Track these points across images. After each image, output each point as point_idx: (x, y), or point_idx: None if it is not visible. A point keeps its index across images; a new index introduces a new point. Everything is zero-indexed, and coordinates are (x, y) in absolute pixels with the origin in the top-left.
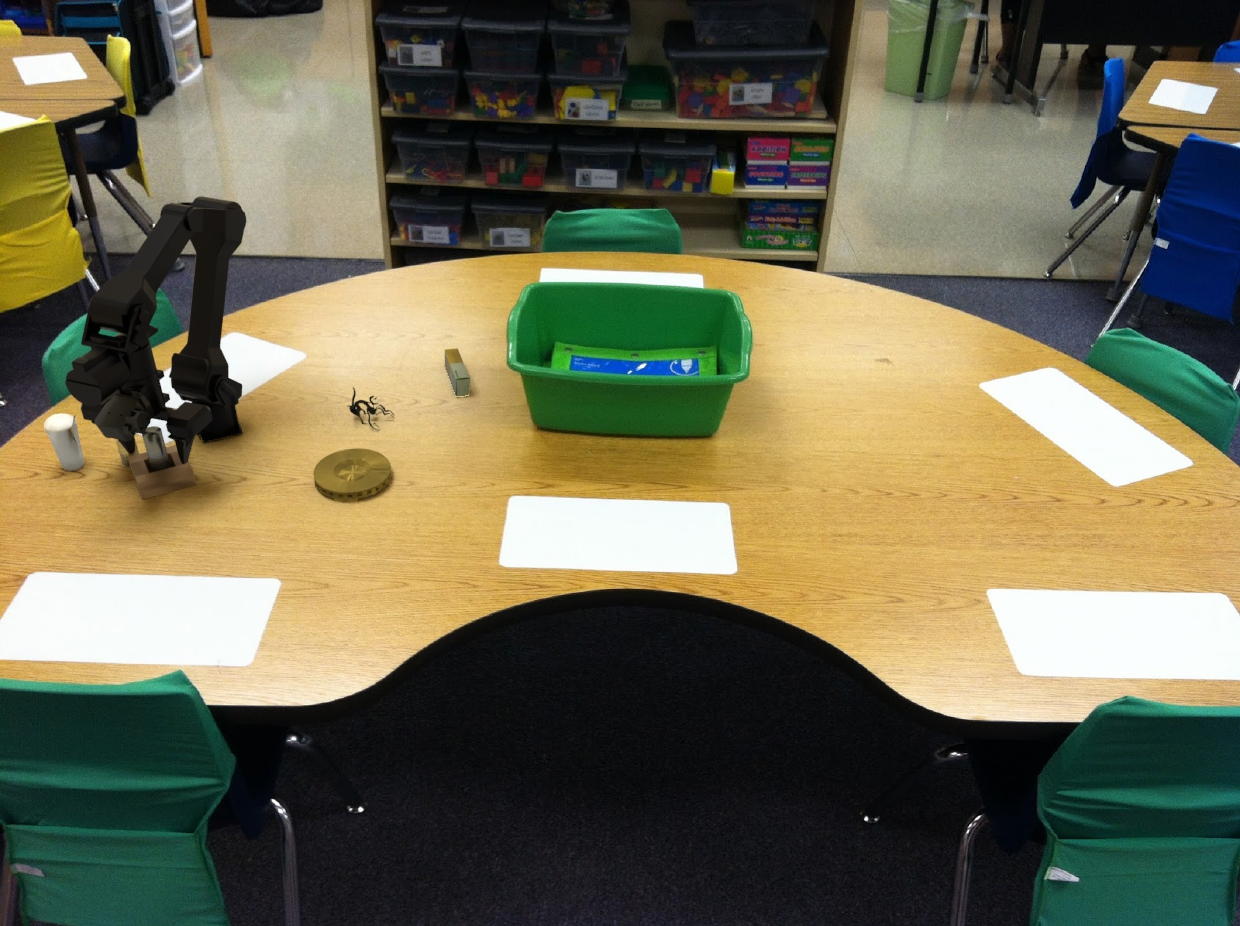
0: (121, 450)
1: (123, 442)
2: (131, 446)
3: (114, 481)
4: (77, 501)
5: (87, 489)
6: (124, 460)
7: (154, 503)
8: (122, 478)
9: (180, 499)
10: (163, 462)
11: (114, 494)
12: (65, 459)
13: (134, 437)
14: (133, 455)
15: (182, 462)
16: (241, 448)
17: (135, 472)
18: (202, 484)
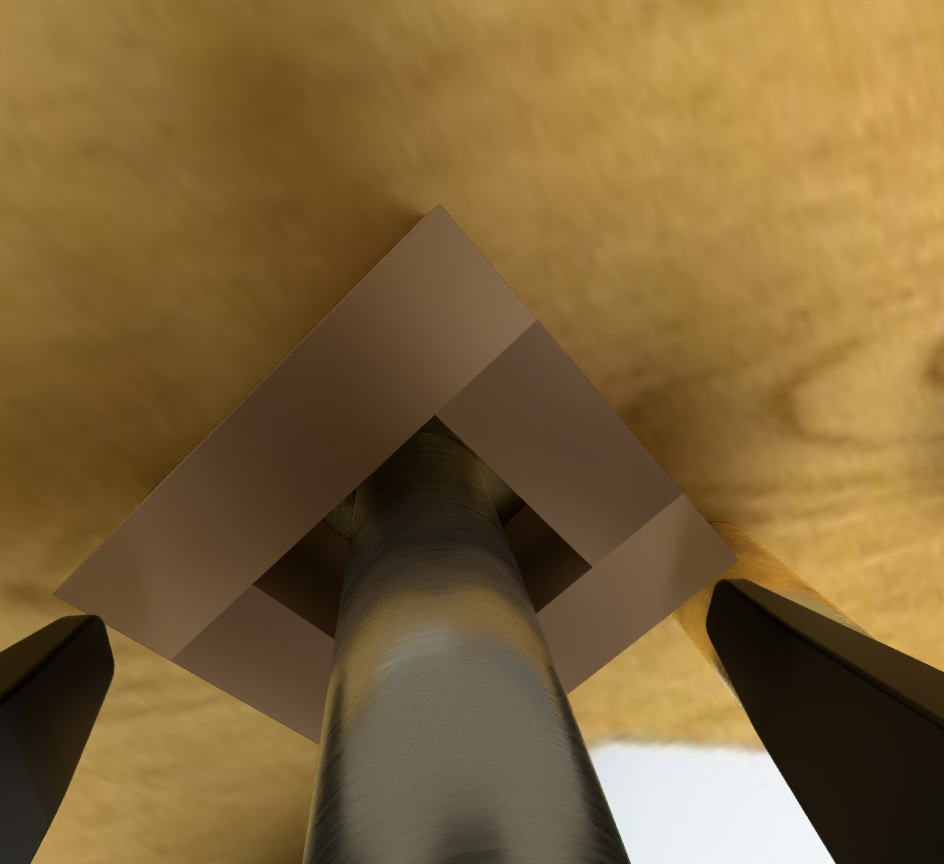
0: (815, 606)
1: (896, 681)
2: (760, 659)
3: (729, 368)
4: (905, 55)
5: (874, 231)
6: (748, 549)
7: (292, 186)
8: (691, 413)
9: (117, 299)
10: (349, 577)
11: (667, 223)
12: None
13: (788, 784)
14: (701, 588)
15: (50, 630)
16: (159, 852)
17: (571, 386)
18: (103, 516)
